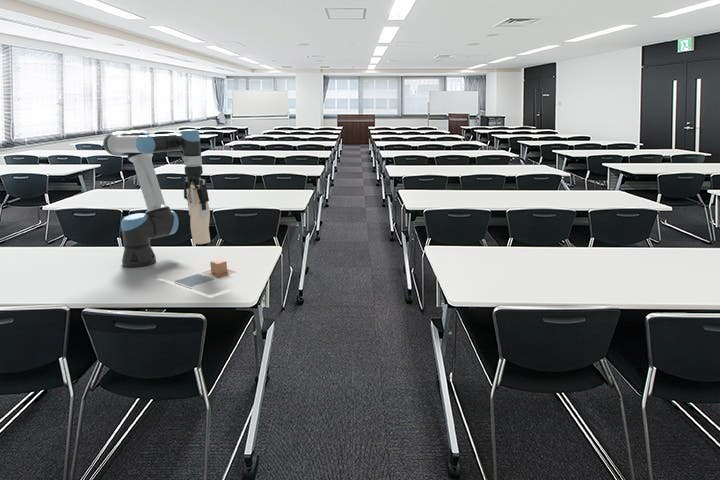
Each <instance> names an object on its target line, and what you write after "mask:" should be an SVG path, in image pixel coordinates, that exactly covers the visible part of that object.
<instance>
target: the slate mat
mask: <svg viewBox="0 0 720 480" xmlns="http://www.w3.org/2000/svg"><path fill="white" fill-rule="evenodd" d="M213 280H215V278H213V277H210V276H207V275H203V274H201V273H196V274H192V275H190V276H189V275H188V276H187V277H183V278H180V279H176V280H174V284H175V285H179V286H182V287H183V288H187V289H191V290H193V288H192V287H196V286H198V285H202V284H204V283H207V282H209V281H210V282H211V281H213Z"/></svg>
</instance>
